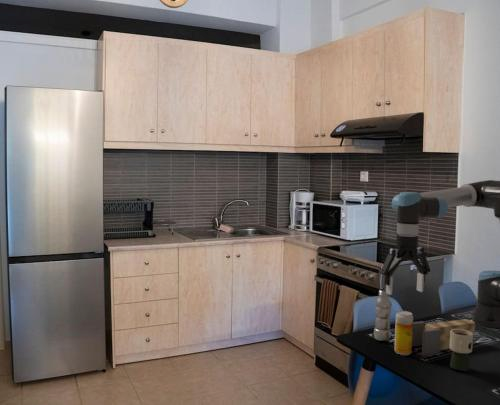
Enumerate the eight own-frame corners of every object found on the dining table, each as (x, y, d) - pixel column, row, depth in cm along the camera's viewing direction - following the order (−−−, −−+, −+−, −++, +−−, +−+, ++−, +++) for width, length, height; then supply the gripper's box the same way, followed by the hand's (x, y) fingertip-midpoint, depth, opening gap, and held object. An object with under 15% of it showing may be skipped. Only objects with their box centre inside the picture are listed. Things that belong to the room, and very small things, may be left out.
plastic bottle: (393, 340, 192) (395, 290, 190) (385, 344, 187) (387, 293, 185) (378, 335, 196) (380, 287, 195) (370, 340, 191) (372, 290, 190)
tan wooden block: (464, 341, 193) (465, 318, 192) (473, 345, 189) (475, 322, 188) (424, 347, 186) (425, 324, 185) (432, 351, 181) (434, 328, 181)
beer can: (412, 356, 176) (414, 316, 175) (395, 355, 177) (397, 315, 176) (410, 350, 182) (411, 311, 181) (393, 348, 183) (395, 310, 182)
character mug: (471, 377, 160) (473, 339, 159) (447, 373, 163) (449, 335, 161) (470, 364, 170) (473, 328, 169) (448, 361, 173) (450, 325, 171)
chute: (419, 342, 190) (420, 320, 189) (441, 354, 178) (442, 330, 177) (404, 344, 187) (405, 322, 186) (426, 356, 176) (427, 332, 175)
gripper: (428, 232, 183) (425, 287, 185) (372, 234, 175) (369, 292, 177) (442, 235, 176) (439, 292, 178) (384, 237, 168) (381, 297, 170)
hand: (404, 292), depth 177 cm, fingers open, 13 cm apart
